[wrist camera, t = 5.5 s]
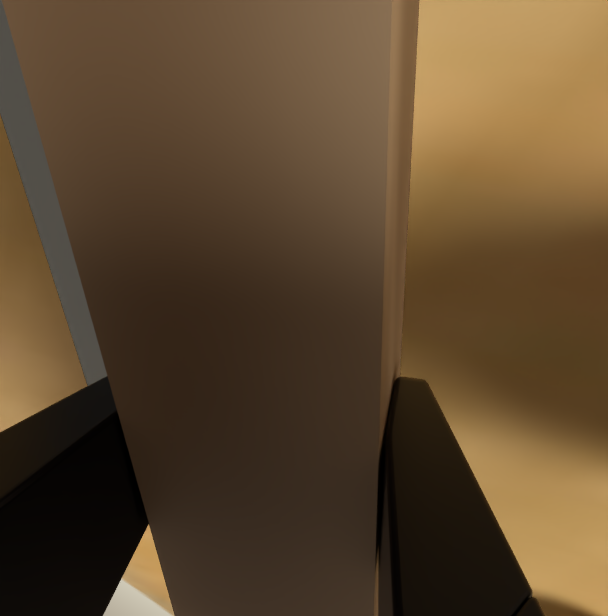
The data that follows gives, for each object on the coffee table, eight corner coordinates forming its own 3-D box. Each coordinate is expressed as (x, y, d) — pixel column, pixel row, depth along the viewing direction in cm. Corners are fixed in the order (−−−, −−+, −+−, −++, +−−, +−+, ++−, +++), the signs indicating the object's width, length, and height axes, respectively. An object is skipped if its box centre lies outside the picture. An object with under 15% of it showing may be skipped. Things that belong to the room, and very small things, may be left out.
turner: (531, -151, 5) (595, -263, 3) (420, 733, 14) (412, 891, 12) (77, -107, 6) (-163, -156, 4) (239, 688, 16) (196, 824, 13)
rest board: (192, -374, 11) (159, -413, 10) (271, 424, 23) (260, 451, 22) (-90, -319, 13) (-148, -348, 12) (119, 403, 24) (101, 427, 23)
